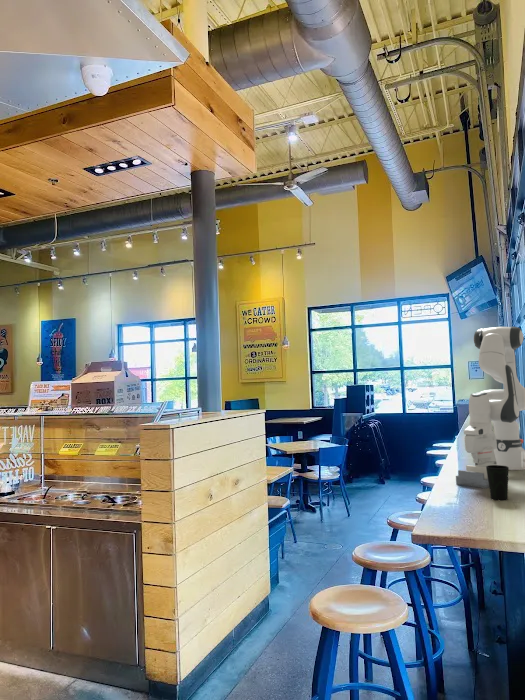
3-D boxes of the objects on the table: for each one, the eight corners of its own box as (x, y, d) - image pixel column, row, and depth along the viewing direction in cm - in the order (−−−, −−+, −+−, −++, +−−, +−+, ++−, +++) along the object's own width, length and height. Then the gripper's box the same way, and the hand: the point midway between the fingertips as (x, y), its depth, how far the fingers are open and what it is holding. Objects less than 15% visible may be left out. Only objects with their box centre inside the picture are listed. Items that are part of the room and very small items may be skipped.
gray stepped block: (475, 478, 229) (474, 465, 230) (505, 482, 219) (504, 468, 219) (456, 484, 219) (455, 470, 220) (486, 488, 209) (485, 473, 209)
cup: (513, 501, 186) (511, 468, 187) (490, 501, 188) (488, 468, 188) (507, 497, 194) (505, 465, 194) (485, 496, 195) (484, 465, 196)
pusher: (468, 481, 223) (467, 465, 223) (491, 484, 215) (490, 467, 215) (462, 483, 220) (461, 466, 220) (486, 486, 212) (485, 469, 212)
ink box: (498, 472, 222) (492, 445, 222) (499, 475, 217) (493, 448, 217) (477, 474, 225) (471, 448, 225) (477, 477, 220) (472, 450, 220)
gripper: (486, 427, 231) (487, 458, 230) (461, 430, 219) (462, 463, 218) (499, 428, 226) (501, 460, 225) (475, 431, 214) (476, 464, 213)
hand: (482, 461), depth 221 cm, fingers open, 8 cm apart
